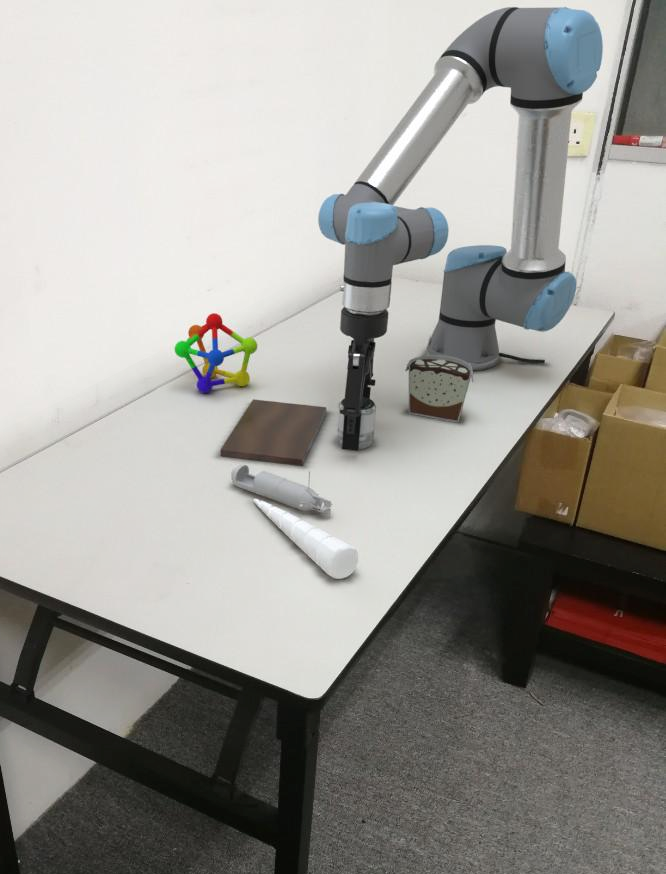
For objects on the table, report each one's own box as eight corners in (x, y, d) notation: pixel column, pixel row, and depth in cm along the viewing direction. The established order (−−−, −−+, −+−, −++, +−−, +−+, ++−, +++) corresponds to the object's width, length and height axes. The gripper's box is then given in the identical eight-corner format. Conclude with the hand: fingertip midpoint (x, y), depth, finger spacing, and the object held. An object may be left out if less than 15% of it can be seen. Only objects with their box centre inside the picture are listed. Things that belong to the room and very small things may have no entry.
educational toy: (169, 399, 166) (159, 322, 158) (199, 377, 176) (191, 303, 169) (242, 405, 160) (235, 326, 153) (269, 382, 170) (263, 306, 163)
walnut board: (326, 413, 159) (326, 407, 158) (302, 466, 141) (302, 459, 140) (252, 405, 162) (253, 399, 161) (220, 456, 143) (220, 449, 143)
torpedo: (224, 489, 134) (223, 451, 130) (242, 477, 137) (242, 440, 134) (321, 525, 125) (323, 485, 121) (338, 512, 128) (341, 473, 125)
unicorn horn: (275, 496, 132) (276, 468, 129) (359, 576, 114) (362, 545, 112) (247, 503, 130) (248, 475, 127) (329, 585, 112) (331, 554, 110)
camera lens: (379, 440, 149) (383, 398, 145) (362, 453, 145) (366, 410, 140) (347, 431, 152) (350, 390, 148) (330, 444, 148) (332, 402, 143)
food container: (474, 411, 160) (482, 360, 155) (466, 424, 155) (474, 371, 150) (410, 400, 164) (415, 349, 159) (400, 412, 160) (406, 360, 154)
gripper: (352, 286, 146) (344, 406, 158) (328, 329, 127) (321, 461, 139) (396, 289, 145) (385, 410, 156) (379, 333, 126) (367, 467, 137)
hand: (355, 434), depth 148 cm, fingers open, 11 cm apart
